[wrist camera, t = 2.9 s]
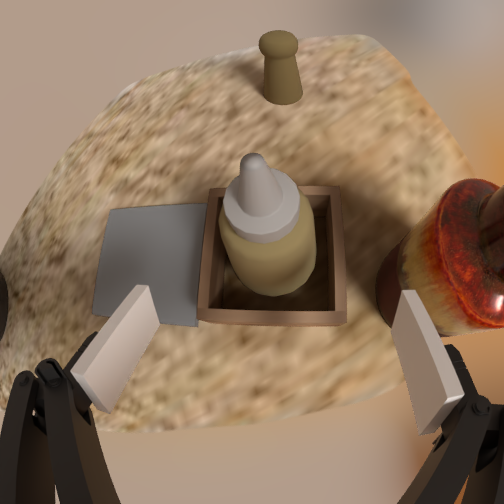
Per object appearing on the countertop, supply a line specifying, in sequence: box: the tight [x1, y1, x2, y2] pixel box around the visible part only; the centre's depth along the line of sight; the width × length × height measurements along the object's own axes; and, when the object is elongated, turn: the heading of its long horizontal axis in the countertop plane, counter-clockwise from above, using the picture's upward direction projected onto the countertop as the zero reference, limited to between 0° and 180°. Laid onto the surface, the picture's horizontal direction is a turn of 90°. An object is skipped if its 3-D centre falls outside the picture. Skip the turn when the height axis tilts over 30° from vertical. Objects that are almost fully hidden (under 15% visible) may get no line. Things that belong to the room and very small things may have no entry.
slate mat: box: [92, 203, 208, 327], centre depth 32 cm, size 14×14×1 cm
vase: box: [376, 178, 504, 337], centre depth 17 cm, size 11×11×20 cm
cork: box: [259, 30, 303, 105], centre depth 33 cm, size 6×6×11 cm
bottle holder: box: [196, 186, 347, 326], centre depth 28 cm, size 13×13×5 cm
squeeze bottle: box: [218, 153, 317, 296], centre depth 22 cm, size 8×8×18 cm
